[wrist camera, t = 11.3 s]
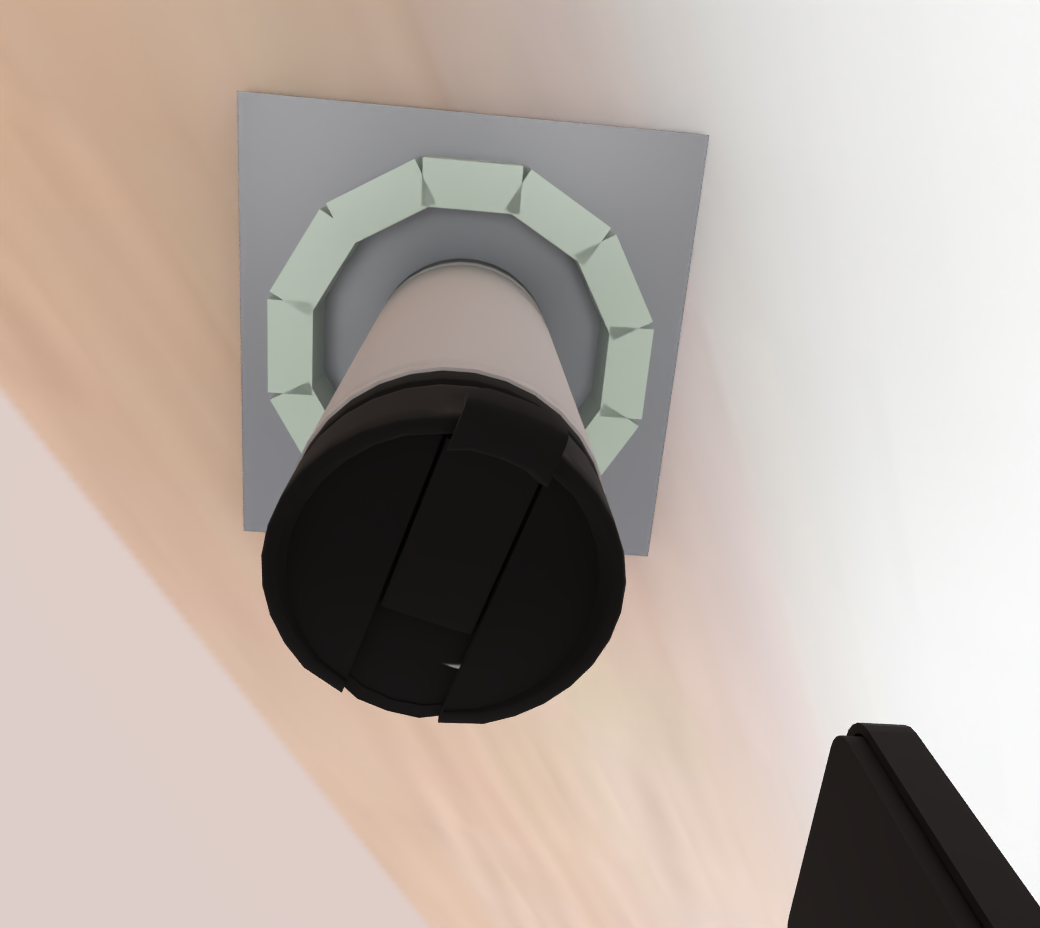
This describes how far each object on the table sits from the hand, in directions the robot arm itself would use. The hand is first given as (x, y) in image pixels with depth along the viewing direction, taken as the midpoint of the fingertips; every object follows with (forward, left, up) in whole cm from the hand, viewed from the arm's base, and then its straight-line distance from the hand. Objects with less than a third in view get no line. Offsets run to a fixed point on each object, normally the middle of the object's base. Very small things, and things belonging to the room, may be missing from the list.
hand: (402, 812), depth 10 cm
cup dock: (0, 0, -26) cm, 26 cm away
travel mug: (0, 0, -25) cm, 25 cm away
